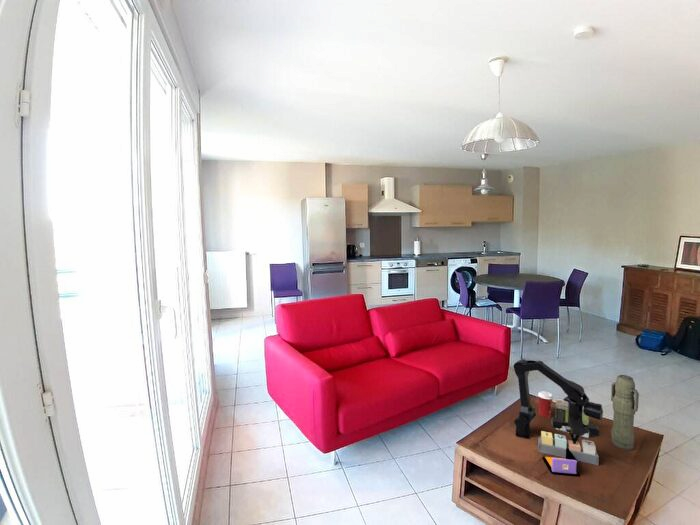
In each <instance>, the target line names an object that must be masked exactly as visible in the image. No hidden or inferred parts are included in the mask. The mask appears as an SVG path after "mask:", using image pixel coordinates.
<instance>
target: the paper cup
mask: <svg viewBox="0 0 700 525" xmlns="http://www.w3.org/2000/svg"><path fill="white" fill-rule="evenodd" d="M537 396H538V414H539V416H541V417H543V418H548V419H549V418H552V417H551V416H552V409H553V408H552V406H553V399H554V396H553V393H551V392H548V391H543V390H542V391H539V392H538V394H537Z"/></svg>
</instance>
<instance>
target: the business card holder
mask: <svg viewBox="0 0 700 525" xmlns="http://www.w3.org/2000/svg"><path fill="white" fill-rule="evenodd" d="M542 460H543V462H544V464H545V466H546V468H547V469H548V471H549V472H550V474H552V475H554V476H563V477H564V476H566V477H575V478H576V477H577V478H580V477H581V475H580V472H579V471H578V465H579V464H578V463H579V461H577V459H576V458H575V457H574V455H573V454H572V453H571V451H570V450H569V449H568V448H566V458H564V457H554V456H553V457H552V456H543V457H542Z"/></svg>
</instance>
